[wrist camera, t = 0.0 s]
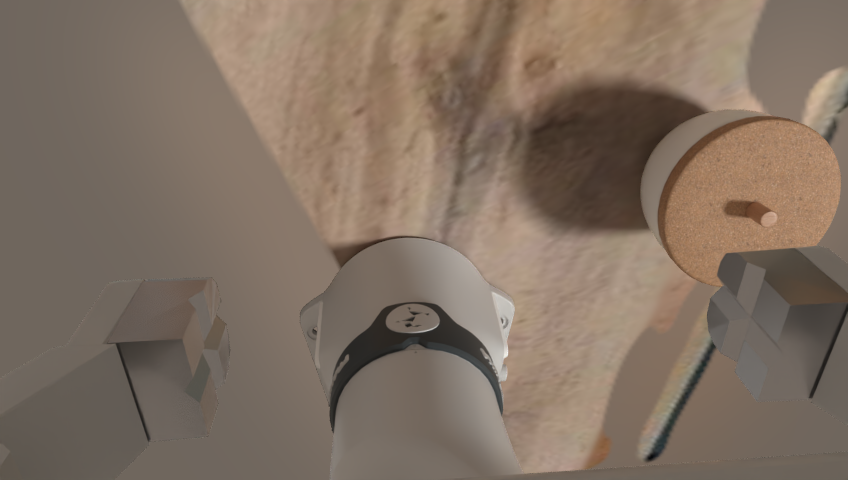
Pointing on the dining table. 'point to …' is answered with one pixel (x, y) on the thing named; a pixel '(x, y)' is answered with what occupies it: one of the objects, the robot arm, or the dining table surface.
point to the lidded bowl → (738, 188)
